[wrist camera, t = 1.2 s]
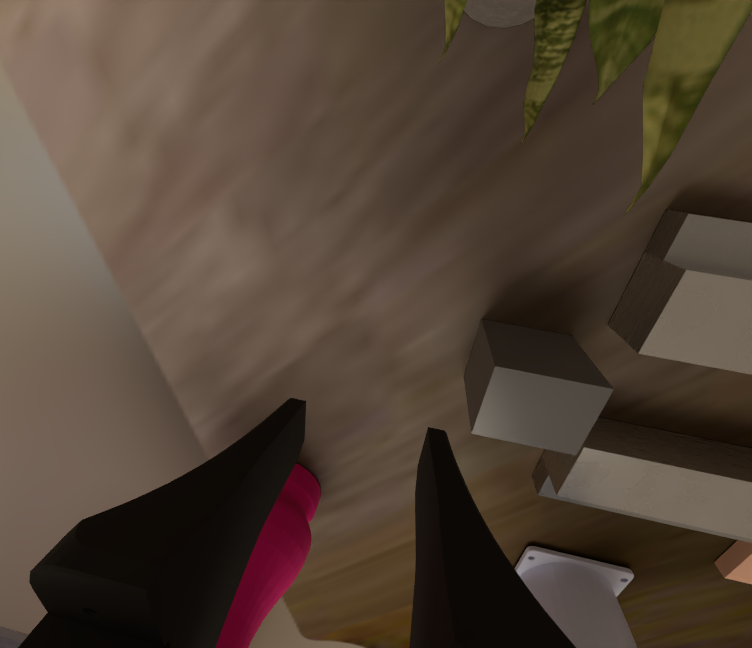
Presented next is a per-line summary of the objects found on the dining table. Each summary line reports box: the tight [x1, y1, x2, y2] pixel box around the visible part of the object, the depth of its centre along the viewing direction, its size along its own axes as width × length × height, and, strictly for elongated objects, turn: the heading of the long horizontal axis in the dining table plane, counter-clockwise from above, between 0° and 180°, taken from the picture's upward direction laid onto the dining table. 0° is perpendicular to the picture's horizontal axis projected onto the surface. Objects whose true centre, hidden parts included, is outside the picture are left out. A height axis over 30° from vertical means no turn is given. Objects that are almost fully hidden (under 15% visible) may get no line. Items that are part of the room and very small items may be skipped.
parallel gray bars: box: [532, 209, 752, 543], centre depth 17 cm, size 18×14×3 cm
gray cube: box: [464, 319, 614, 456], centre depth 17 cm, size 4×5×5 cm
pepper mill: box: [216, 463, 321, 648], centre depth 19 cm, size 7×7×20 cm
